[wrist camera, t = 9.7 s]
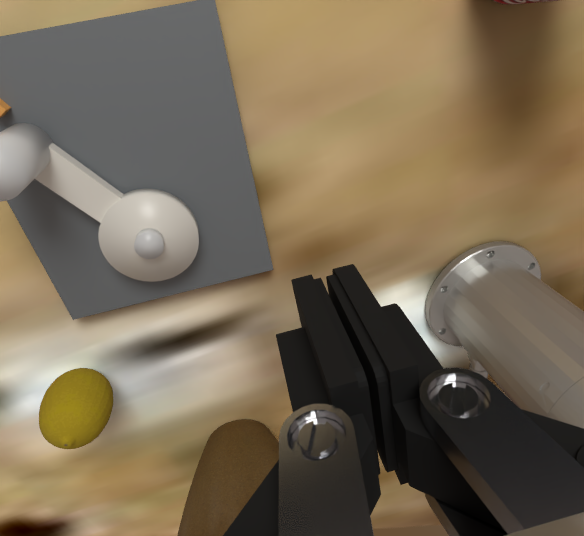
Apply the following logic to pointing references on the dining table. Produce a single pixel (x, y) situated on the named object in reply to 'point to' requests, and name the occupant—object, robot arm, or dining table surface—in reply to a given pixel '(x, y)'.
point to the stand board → (135, 144)
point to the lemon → (75, 408)
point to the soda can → (520, 1)
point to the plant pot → (228, 476)
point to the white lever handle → (104, 206)
